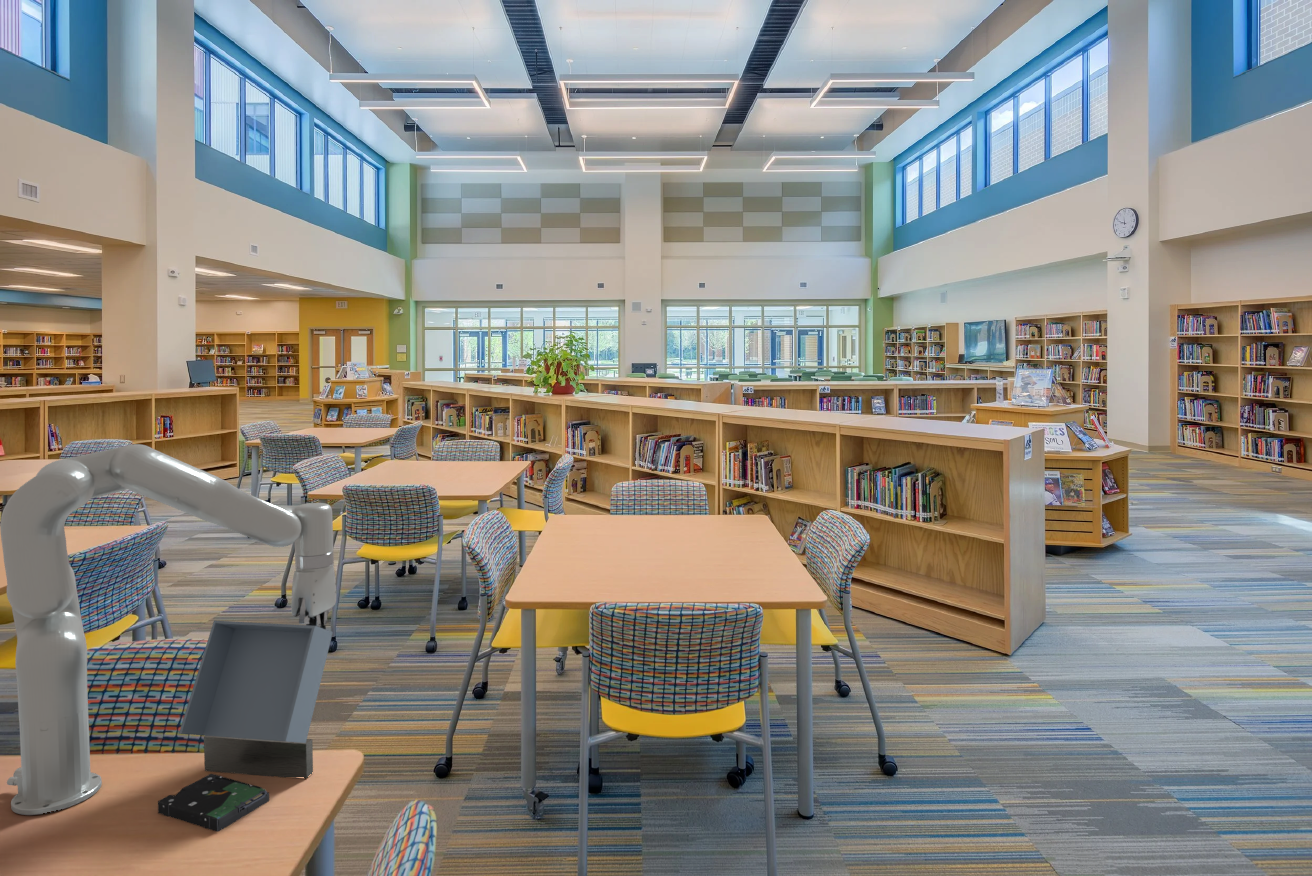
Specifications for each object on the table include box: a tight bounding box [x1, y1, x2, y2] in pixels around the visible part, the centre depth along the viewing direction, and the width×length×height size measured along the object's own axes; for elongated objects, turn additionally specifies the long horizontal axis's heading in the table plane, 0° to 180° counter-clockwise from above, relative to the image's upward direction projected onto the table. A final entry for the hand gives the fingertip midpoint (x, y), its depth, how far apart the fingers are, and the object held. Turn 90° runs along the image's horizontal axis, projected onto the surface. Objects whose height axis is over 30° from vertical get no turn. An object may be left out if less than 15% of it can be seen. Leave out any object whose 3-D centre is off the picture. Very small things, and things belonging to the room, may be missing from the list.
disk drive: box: [157, 773, 270, 833], centre depth 129 cm, size 10×3×15 cm
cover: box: [178, 620, 334, 743], centre depth 140 cm, size 21×20×7 cm
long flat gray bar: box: [203, 735, 314, 778], centre depth 140 cm, size 21×2×7 cm, turn 83°
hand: (317, 644), depth 159 cm, fingers closed
